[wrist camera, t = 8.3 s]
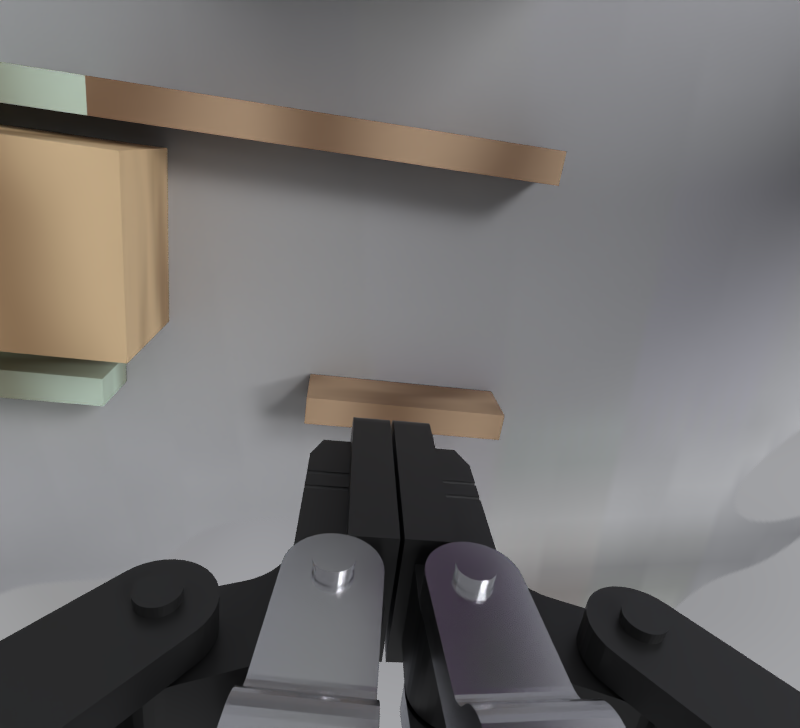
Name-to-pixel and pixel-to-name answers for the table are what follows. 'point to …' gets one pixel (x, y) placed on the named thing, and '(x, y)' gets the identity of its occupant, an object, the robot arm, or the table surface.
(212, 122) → the channel
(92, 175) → the block
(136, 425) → the table surface
